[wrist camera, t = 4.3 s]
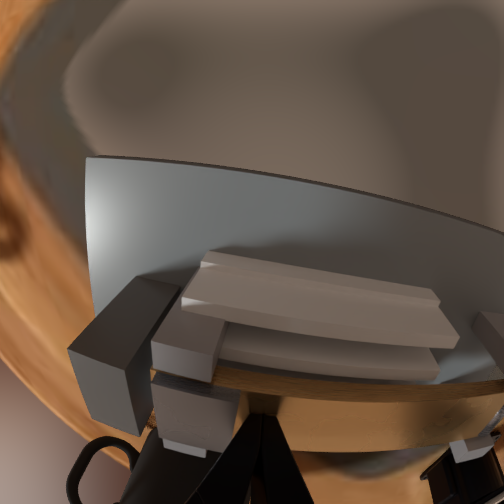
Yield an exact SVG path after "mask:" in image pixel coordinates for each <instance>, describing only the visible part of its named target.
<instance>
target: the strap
mask: <svg viewBox="0 0 504 504" xmlns="http://www.w3.org/2000/svg"><path fill="white" fill-rule="evenodd" d="M150 374H151V390H152V398H153V404H154V411H155V417H156V423H157V429H158V435H159V438H162V439H166V440H169V441H173V442H177V443H181V444H185V445H189V446H193V447H197V448H202V449H206V450H211V451H216V452H221V453H223V451H224V450H225V449H226V447H227V446H228V444H229V443H230V441H231V440H232V438H233V437H234V436H235V434H236V433H237V431H238V430H239V428H240V427H241V425H242V424H243V422H244V421H245V419H246V417H247V416H248V414H249V413H256V414H262V415H270V416H276V417H277V418H278V421H279V423H280V426H281V428H282V430H283V433H284V435H285V438H286V440H287V442H288V445H289V447H290V449H291V450H297V451H315V452H370V451H387V450H399V449H409V448H417V447H425V446H432V445H438V444H444V443H449V442H455V441H460V440H464V439H469V438H473V437H477V436H479V437H486V436H487V435H488V434H489V433H490V432H491V431H492V430H493V429H494V428H495V426H496V425H497V424H498V423H499V422H500V421H501V420H502V418H503V417H504V379H500V380H491V381H481V382H469V383H454V384H429V385H387V384H361V383H345V382H332V381H320V380H310V379H301V378H293V377H285V376H277V375H270V374H264V373H257V372H251V371H245V370H239V369H234V368H228V367H223V366H218V365H216V367H215V370H214V374H213V377H212V380H211V383H210V382H205V381H201V380H197V379H192V378H188V377H184V376H180V375H176V374H173V373H169V372H165V371H161V370H158V369H154V368H153V365H152V367H151V368H150Z"/></svg>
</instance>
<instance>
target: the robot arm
mask: <svg viewBox="0 0 504 504" xmlns="http://www.w3.org/2000/svg"><path fill="white" fill-rule="evenodd" d="M490 435H491V438H492V440H493V442H494V443H495V442H496V441H497V440H498V439H499V438H500V436H501V433H500V432H495V433H492V434H490ZM426 479H428V481H429V485H430V490H431V494H432V499H433V504H494V503H495V502H497V501H499V500H500V499H502V498H503V497H504V475H503V472H502V469H501V466H500V464H499V461H498V459H497V456H496V454H495V451H494V449H493V447H492V448H491V449H490V450H489V451H488V452H487V453H486V454H485V455H483V456H482V457H478V458H475V459H471V460H467V461H463V462H459V463H456V462H455V459H454V456H453V453H452V450H451V447H450V448H449V449H448V450H447V451H446V452H445V453H444V454H443V455H442V456H441V457H440V458H439V459H438V460H437V461H436V462H435V463H434V464H433V465H432V466H431V467H430V468H428V469H427V470H426V471H425V472H424V473H423V474H422V475H421V476H420V480H426ZM250 482H251V497H250V504H314V502H313V499H312V497H311V495H310V493H309V491H308V488H307V486H306V484H305V482H304V479H303V477H302V475H301V473H300V470H299V468H298V466H297V463H296V461H295V459H294V456H293V454H292V452H291V449H290V447H289V445H288V442H287V440H286V438H285V435H284V433H283V430H282V428H281V426H280V423H279V421H278V418H277V417H276V416H270V415H262V414H256V413H249V414H248V416H247V417H246V419H245V421H244V422H243V424H242V425H241V427H240V428H239V430H238V431H237V433H236V434H235V436H234V437H233V438H232V440H231V441H230V443H229V444H228V446H227V447H226V449H225V450H224V451H223V453H222V454H221V456H220V457H219V459H218V460H217V461H216V463H215V464H214V466H213V467H212V468H211V470H210V471H209V472H208V474H207V475H206V476H205V478H204V479H203V480H202V482H201V483H200V484H199V486H198V487H197V488H196V491H194V492H193V493H192V495H191V496H190V497H189V498H188V500H187V501H186V502H185V503H184V504H243V503H244V500H245V497H246V494H247V491H248V488H249V485H250ZM498 504H504V500H503V501H501V502H499V503H498Z"/></svg>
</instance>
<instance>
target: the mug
mask: <svg viewBox="0 0 504 504" xmlns="http://www.w3.org/2000/svg"><path fill="white" fill-rule="evenodd" d="M108 446H114V447H117V448H119V449H121V450H123V451H124V452H125V453H126V454H127V456H128V458H129V462H130V470H131V473H132V474H131V476H130V478H129V481H128V483H127V485H126V488H125V490H124V492H123V495H122V497H121V500H120V502H119V503H118V502H117V503H114V504H184V503H185V502H186V501H187V500H188V498H189V497H190V496H191V495H192V493H193V492H194V491H196V488H197V487H198V486H199V484H200V483H201V482H202V480H203V479H204V478H205V476H206V475H207V474H208V472H209V471H210V470H211V468H212V467H213V466H214V464H215V463H216V461H217V460H218V459H219V457H220V456H221V454H222V453H221V452H216V451H211V450H207V454H206V457H205V458H202V457H198V456H194V455H190V454H186V453H182V452H178V451H175V450H171V449H168V448H164V444H163V439H162V438H159V435H158V429H157V427H156V428H154V429H153V430H151V431H150V433H149V434H148V437H147V439H146V441H145V443H144V446H143V448H142V450H141V453H139V452H138V451H137V450H136V449H135V448H134V447H133V446H132V445H130V444H129V443H128V442H126V441H124V440H122V439H119V438H116V437H111V436H103V437H99V438H97V439H94V440H93V441H91V442H90V443H88V444H87V445H86V446H85V447H84V449H83V450H82V452H81V454H80V455H79V457H78V459H77V460H76V462H75V464H74V466H73V468H72V469H71V471H70V473H69V475H68V478H67V483H66V492H67V497H68V500H69V502H70V504H82V503H81V501H80V498H79V494H78V485H79V481H80V479H81V477H82V475H83V473H84V471H85V470H86V467H87V466H88V464H89V462H90V460H91V458H92V457H93V455H94V454H95V453H96V452H97V451H98V450H100V449H102V448H104V447H108ZM250 495H251V482H250V485H249V488H248V491H247V494H246V497H245V500H244V503H243V504H249V502H250Z"/></svg>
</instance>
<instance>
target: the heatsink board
mask: <svg viewBox="0 0 504 504" xmlns="http://www.w3.org/2000/svg"><path fill="white" fill-rule="evenodd" d="M85 210H86V235H87V250H88V262H89V272H90V281H91V289H92V297H93V304H94V311H95V317H96V318H95V319H94V320H93V321H92V322H91V323H90V324H89V325H88V326H87V327H86V328H85V329H84V330H83V331H82V333H81V334H80V335H79V336H78V337H77V338H76V339H75V340H74V341H73V342H72V344H71V345H70V346H69V347H68V348H67V350H68V354H69V357H70V360H71V363H72V366H73V369H74V373H75V375H76V378H77V381H78V384H79V387H80V390H81V392H82V395H83V398H84V400H85V403H86V405H87V408H88V410H89V413H90V415H91V417H92V419H94V420H97V421H99V422H101V423H104V424H106V425H108V426H111V427H113V428H116V429H119V430H121V431H124V432H127V433H129V434H132V435H135V436H138V437H140V436H141V434H142V432H143V430H144V428H145V425H146V423H147V421H148V419H149V417H150V415H151V412H152V410H153V408H154V404H153V398H152V390H151V374H150V368H151V367H152V365H153V368H154V369H158V370H161V371H165V372H169V373H173V374H176V375H180V376H184V377H188V378H192V379H197V380H201V381H205V382H210V383H211V380H212V377H213V374H214V370H215V367H216V365H218V366H223V367H228V368H234V369H239V370H245V371H251V372H257V373H264V374H270V375H277V376H285V377H293V378H301V379H310V380H320V381H332V382H345V383H361V384H387V385H429V384H454V383H469V382H481V381H486V380H487V378H488V377H489V375H490V374H491V372H492V371H493V369H494V368H495V366H496V364H497V365H498V367H499V368H500V370H501V371H502V373H503V374H504V232H501V231H498V230H495V229H492V228H489V227H486V226H484V225H480V224H478V223H475V222H472V221H469V220H466V219H462V218H459V217H456V216H453V215H450V214H446V213H443V212H440V211H436V210H433V209H429V208H426V207H422V206H419V205H415V204H411V203H408V202H404V201H400V200H396V199H392V198H389V197H385V196H381V195H376V194H372V193H368V192H364V191H359V190H355V189H351V188H346V187H341V186H337V185H332V184H327V183H322V182H317V181H311V180H307V179H301V178H296V177H291V176H285V175H279V174H273V173H267V172H261V171H255V170H248V169H241V168H234V167H226V166H219V165H211V164H203V163H194V162H185V161H175V160H164V159H152V158H140V157H125V156H106V155H98V156H92V157H86V176H85ZM163 444H164V448H168V449H171V450H175V451H178V452H182V453H186V454H190V455H194V456H198V457H202V458H205V457H206V454H207V450H206V449H202V448H197V447H193V446H189V445H185V444H181V443H177V442H173V441H169V440H166V439H163ZM449 444H450V447H451V450H452V453H453V456H454V459H455V462H456V463H459V462H463V461H467V460H471V459H475V458H478V457H482V456H483V455H485V454H486V453H487V452H488V451H489V450H490V449H491V448H492V447H493V446H494V445H495V444H494V442H493V440H492V438H491V435H490V433H489V434H488V435H487V436H486V437H479V436H477V437H473V438H469V439H464V440H460V441H455V442H449Z"/></svg>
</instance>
